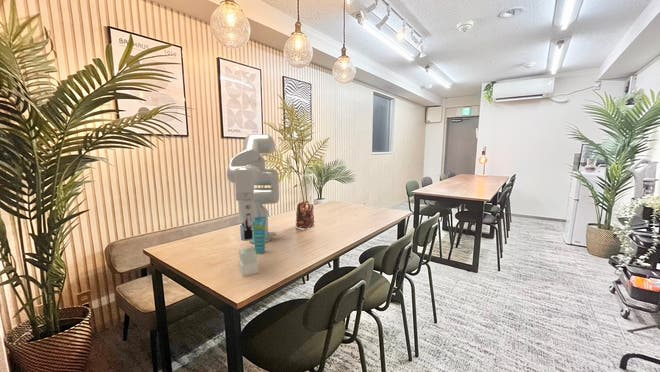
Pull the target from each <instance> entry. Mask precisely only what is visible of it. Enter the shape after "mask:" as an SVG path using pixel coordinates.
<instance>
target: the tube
mask: <svg viewBox="0 0 660 372" xmlns="http://www.w3.org/2000/svg"><path fill="white" fill-rule="evenodd" d="M265 222H266V217H255V222H254V223H253V222H252V225H253V234H254V243H253V244H254V249H255V250H256V255H257V254H259V255H260V254H264V253H265V251H266V250H265V249H266V247H265V246H266V245H265V244H266V243H265Z"/></svg>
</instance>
